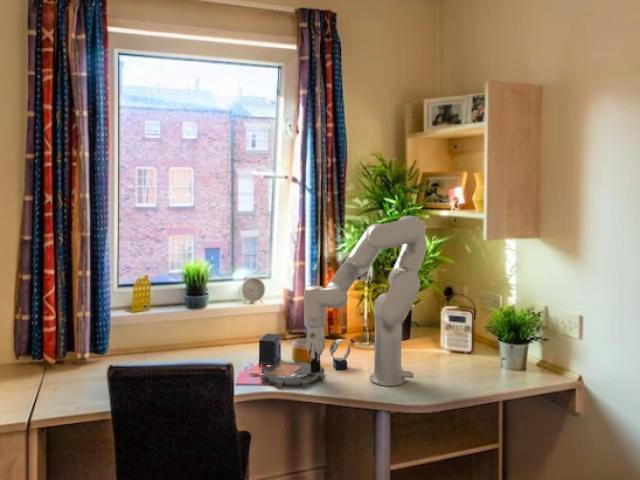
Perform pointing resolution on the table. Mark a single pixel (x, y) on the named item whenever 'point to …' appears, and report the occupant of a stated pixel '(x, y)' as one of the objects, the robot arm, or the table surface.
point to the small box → (270, 349)
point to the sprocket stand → (254, 373)
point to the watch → (339, 362)
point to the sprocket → (291, 374)
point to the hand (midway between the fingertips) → (315, 371)
